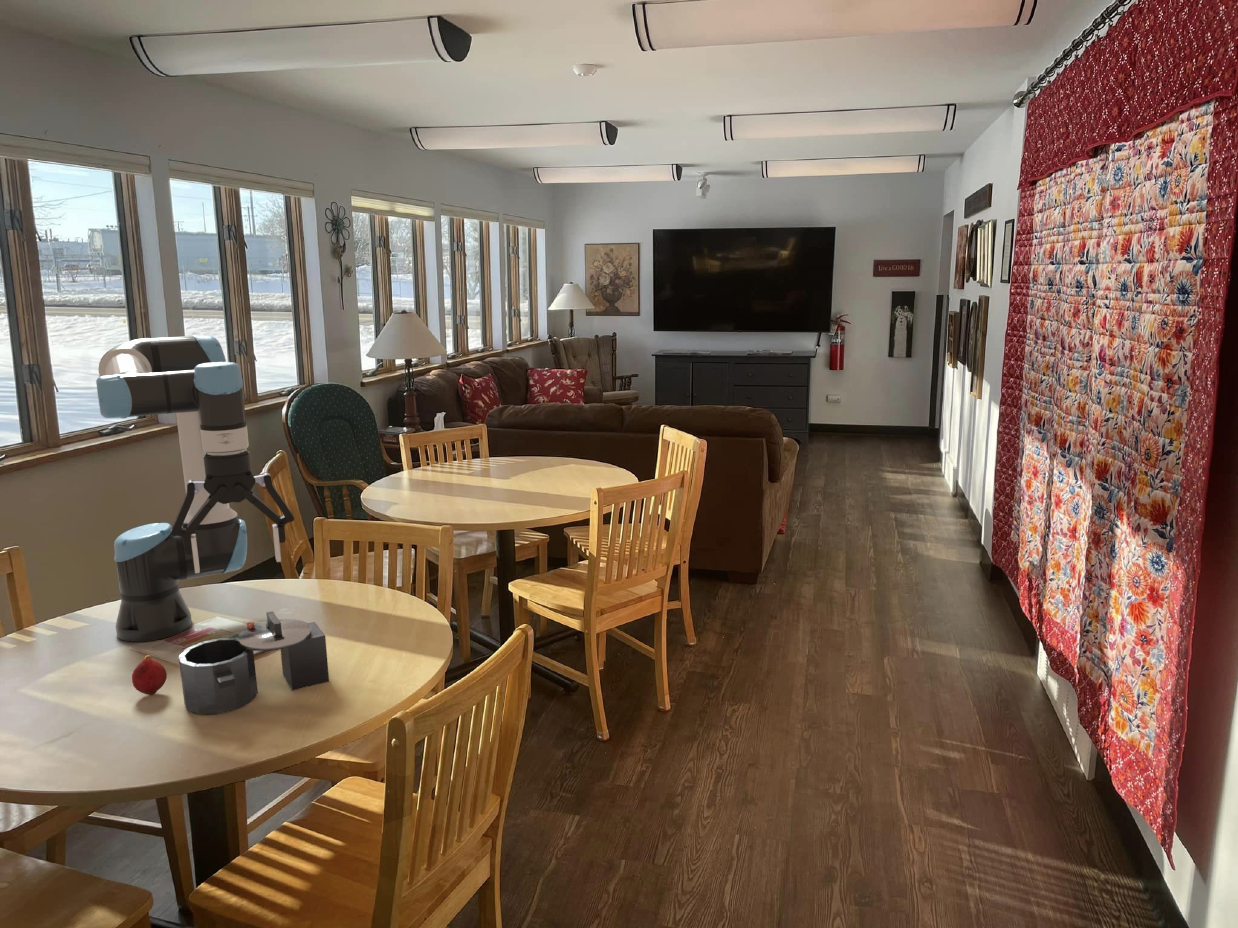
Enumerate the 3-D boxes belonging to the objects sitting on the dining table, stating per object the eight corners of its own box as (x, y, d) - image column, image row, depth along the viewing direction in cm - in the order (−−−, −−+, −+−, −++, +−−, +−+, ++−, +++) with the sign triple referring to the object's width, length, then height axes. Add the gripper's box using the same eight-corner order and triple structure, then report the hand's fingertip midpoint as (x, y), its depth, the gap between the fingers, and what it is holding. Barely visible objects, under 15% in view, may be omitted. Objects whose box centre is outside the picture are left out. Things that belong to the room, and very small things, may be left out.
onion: (154, 703, 167) (148, 663, 165) (127, 700, 168) (121, 661, 166) (175, 689, 173) (170, 650, 171) (149, 686, 174) (144, 648, 172)
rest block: (282, 674, 178) (278, 629, 176) (318, 666, 182) (314, 621, 180) (292, 690, 172) (287, 643, 169) (329, 681, 175) (325, 635, 173)
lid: (233, 632, 174) (231, 613, 173) (301, 618, 181) (300, 600, 180) (246, 656, 163) (243, 636, 162) (318, 640, 170) (316, 621, 169)
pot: (178, 685, 174) (172, 639, 172) (246, 670, 180) (241, 625, 178) (193, 731, 157) (187, 680, 155) (267, 712, 163) (262, 663, 161)
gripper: (145, 462, 149) (161, 582, 154) (303, 448, 159) (313, 561, 164) (147, 453, 155) (162, 569, 160) (298, 440, 166) (308, 549, 171)
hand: (238, 565), depth 162 cm, fingers open, 13 cm apart
